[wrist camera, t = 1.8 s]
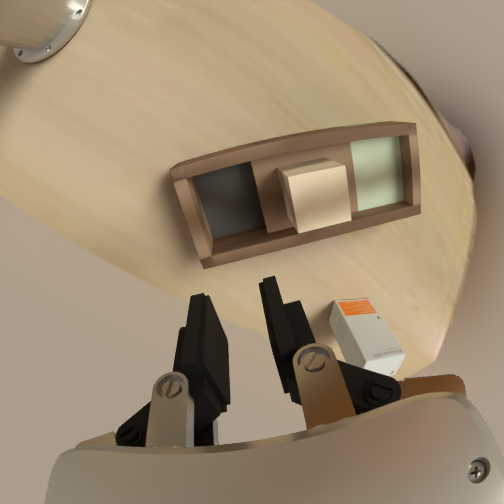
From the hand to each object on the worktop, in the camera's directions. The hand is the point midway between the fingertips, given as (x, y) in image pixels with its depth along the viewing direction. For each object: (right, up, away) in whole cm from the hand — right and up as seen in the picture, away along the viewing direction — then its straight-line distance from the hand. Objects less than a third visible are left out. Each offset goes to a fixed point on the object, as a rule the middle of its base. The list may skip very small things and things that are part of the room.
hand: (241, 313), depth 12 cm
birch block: (+6, +9, +15) cm, 18 cm away
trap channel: (+6, +11, +17) cm, 21 cm away
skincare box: (+15, -6, +26) cm, 30 cm away
